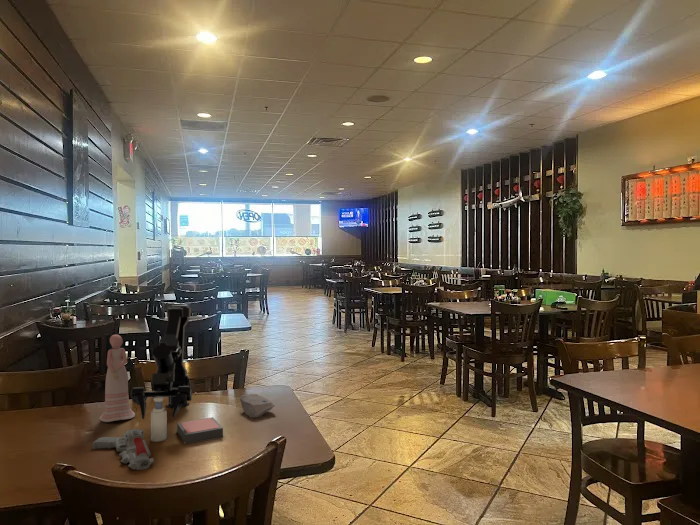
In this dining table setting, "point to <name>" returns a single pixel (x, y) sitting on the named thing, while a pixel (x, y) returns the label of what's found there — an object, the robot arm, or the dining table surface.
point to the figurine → (116, 384)
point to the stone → (255, 405)
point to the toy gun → (129, 448)
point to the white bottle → (158, 421)
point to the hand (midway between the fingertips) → (158, 418)
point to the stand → (199, 430)
